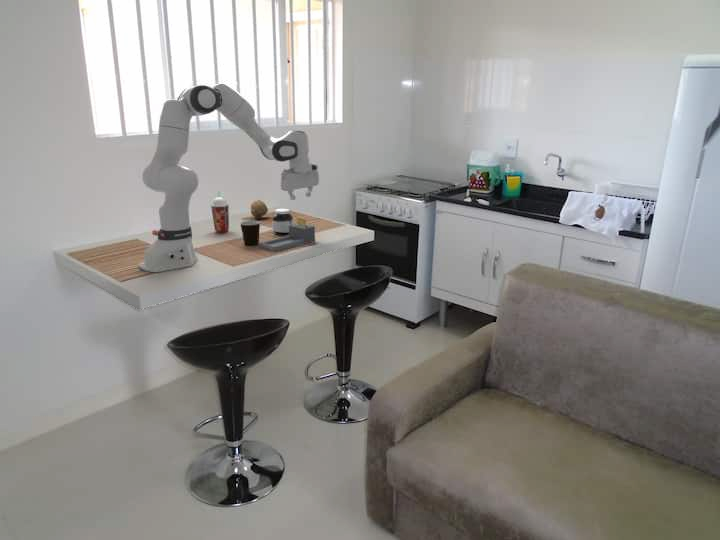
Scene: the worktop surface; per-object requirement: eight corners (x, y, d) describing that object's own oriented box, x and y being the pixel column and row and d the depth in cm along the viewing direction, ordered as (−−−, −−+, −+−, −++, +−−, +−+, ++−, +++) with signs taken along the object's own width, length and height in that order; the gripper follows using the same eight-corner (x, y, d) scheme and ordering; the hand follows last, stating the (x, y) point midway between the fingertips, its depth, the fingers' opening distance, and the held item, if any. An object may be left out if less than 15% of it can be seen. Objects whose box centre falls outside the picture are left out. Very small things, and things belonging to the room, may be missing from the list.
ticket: (304, 237, 247) (304, 218, 244) (297, 235, 250) (297, 216, 247) (306, 237, 248) (305, 218, 245) (299, 235, 251) (298, 216, 248)
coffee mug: (256, 247, 239) (255, 225, 236) (238, 246, 240) (237, 224, 237) (266, 240, 250) (265, 219, 246) (249, 239, 251) (247, 218, 248)
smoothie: (234, 231, 267) (231, 191, 260) (221, 234, 260) (218, 193, 254) (222, 228, 271) (218, 189, 265) (209, 232, 264) (206, 192, 258)
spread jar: (283, 236, 257) (282, 212, 253) (264, 233, 262) (263, 210, 258) (298, 231, 266) (297, 208, 263) (280, 228, 272) (279, 205, 268)
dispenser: (274, 251, 232) (273, 234, 230) (260, 247, 238) (259, 231, 236) (314, 241, 249) (314, 225, 246) (300, 237, 255) (300, 221, 253)
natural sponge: (270, 216, 297) (269, 199, 294) (265, 220, 289) (264, 202, 286) (254, 216, 298) (253, 198, 295) (249, 219, 290) (247, 201, 287)
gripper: (286, 170, 230) (287, 202, 234) (320, 165, 244) (321, 195, 248) (276, 169, 234) (278, 200, 238) (311, 164, 248) (312, 193, 252)
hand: (300, 198), depth 243 cm, fingers open, 8 cm apart
